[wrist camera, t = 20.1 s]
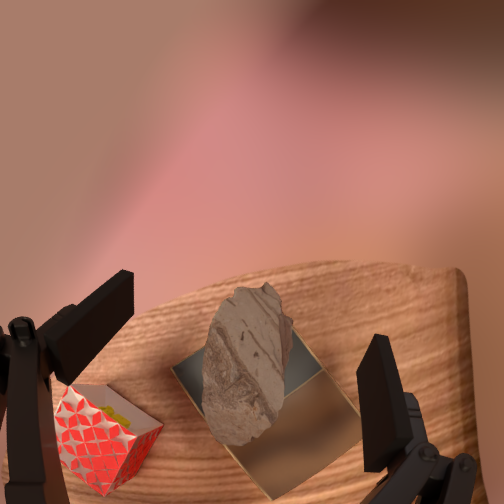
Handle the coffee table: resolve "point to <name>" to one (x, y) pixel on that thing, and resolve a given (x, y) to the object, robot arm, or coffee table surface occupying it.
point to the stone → (245, 365)
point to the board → (289, 422)
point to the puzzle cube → (102, 436)
